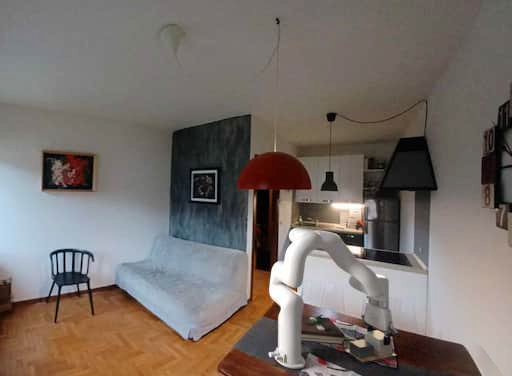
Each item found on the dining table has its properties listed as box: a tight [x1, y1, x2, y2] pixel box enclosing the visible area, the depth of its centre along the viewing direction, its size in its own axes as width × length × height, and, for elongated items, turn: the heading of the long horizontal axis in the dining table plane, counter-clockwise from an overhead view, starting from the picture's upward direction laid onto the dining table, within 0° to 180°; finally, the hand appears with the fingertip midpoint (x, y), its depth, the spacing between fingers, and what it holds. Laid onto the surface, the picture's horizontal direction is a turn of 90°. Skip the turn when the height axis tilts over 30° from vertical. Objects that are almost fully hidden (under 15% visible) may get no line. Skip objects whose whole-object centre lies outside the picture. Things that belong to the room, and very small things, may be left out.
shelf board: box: [344, 348, 397, 363], centre depth 121 cm, size 20×9×2 cm, turn 104°
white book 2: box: [364, 337, 393, 351], centre depth 122 cm, size 8×7×2 cm
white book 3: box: [374, 348, 394, 356], centre depth 122 cm, size 8×7×2 cm
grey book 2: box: [349, 346, 374, 358], centre depth 120 cm, size 8×5×2 cm, turn 104°
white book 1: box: [364, 329, 394, 345], centre depth 122 cm, size 8×7×2 cm
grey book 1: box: [349, 338, 374, 353], centre depth 120 cm, size 8×5×2 cm, turn 104°
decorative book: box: [301, 314, 345, 346], centre depth 137 cm, size 19×8×30 cm
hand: (378, 340), depth 122 cm, fingers closed on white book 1, 6 cm apart
